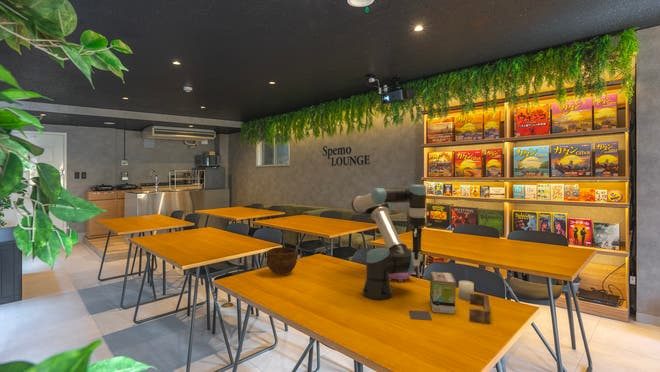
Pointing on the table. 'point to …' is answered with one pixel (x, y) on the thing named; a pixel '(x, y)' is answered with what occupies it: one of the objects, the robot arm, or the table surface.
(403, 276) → the teapot
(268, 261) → the bowl
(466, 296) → the cream domed cylinder
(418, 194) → the robot arm
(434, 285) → the tea box
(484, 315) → the display bay
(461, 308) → the table surface
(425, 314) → the rubber coaster
